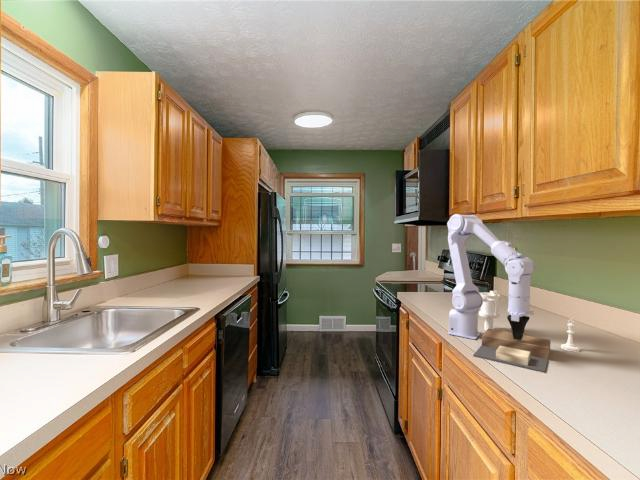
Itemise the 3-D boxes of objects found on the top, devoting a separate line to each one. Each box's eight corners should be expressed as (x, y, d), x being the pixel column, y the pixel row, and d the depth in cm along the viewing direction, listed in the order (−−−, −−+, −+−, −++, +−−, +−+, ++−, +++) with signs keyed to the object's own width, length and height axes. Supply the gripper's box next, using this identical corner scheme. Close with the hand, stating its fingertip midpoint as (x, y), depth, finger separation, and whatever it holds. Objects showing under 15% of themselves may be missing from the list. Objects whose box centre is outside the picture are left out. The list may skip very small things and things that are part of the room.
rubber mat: (473, 356, 99) (473, 354, 99) (481, 346, 108) (481, 345, 108) (544, 372, 88) (544, 371, 88) (547, 360, 96) (547, 359, 96)
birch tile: (499, 345, 101) (499, 352, 101) (495, 351, 97) (495, 358, 97) (530, 351, 96) (530, 359, 96) (527, 357, 92) (527, 365, 92)
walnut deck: (481, 346, 108) (481, 335, 108) (488, 338, 116) (488, 328, 116) (547, 360, 97) (548, 348, 97) (550, 350, 105) (550, 339, 104)
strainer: (503, 331, 124) (504, 292, 123) (489, 333, 121) (490, 293, 121) (487, 326, 130) (488, 289, 130) (474, 328, 128) (475, 290, 127)
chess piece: (577, 353, 103) (578, 321, 102) (558, 348, 107) (559, 318, 106) (581, 349, 106) (582, 319, 106) (563, 345, 110) (564, 315, 109)
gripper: (531, 302, 94) (530, 348, 94) (536, 294, 105) (535, 336, 106) (503, 298, 98) (502, 343, 99) (511, 291, 110) (510, 331, 110)
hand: (517, 339), depth 103 cm, fingers closed
